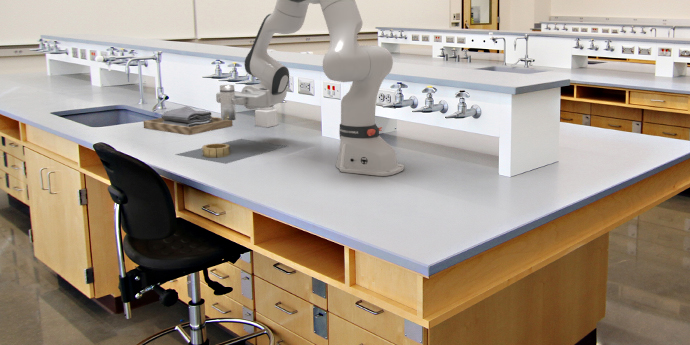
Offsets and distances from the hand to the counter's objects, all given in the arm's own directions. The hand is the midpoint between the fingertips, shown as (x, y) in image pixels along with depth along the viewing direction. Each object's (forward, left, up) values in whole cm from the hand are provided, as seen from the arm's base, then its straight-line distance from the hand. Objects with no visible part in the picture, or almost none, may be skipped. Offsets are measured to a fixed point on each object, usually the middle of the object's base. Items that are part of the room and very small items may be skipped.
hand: (226, 101), depth 216 cm
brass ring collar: (0, +6, -18) cm, 19 cm away
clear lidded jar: (0, -1, -7) cm, 7 cm away
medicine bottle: (+25, -51, -19) cm, 60 cm away
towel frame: (+51, -29, -19) cm, 62 cm away
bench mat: (0, -3, -19) cm, 19 cm away
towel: (+53, -31, -19) cm, 64 cm away
